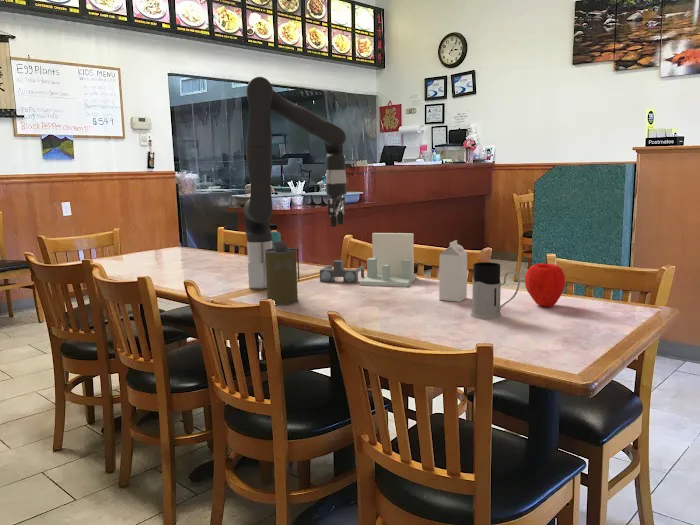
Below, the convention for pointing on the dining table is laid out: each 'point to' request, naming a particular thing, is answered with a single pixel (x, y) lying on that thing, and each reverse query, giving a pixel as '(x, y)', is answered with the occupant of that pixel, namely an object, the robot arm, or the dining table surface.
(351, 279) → the spectacles
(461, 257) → the milk carton
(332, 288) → the dining table surface
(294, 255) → the canister
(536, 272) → the apple
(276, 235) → the beverage bottle
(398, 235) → the display stand
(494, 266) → the glass holder
